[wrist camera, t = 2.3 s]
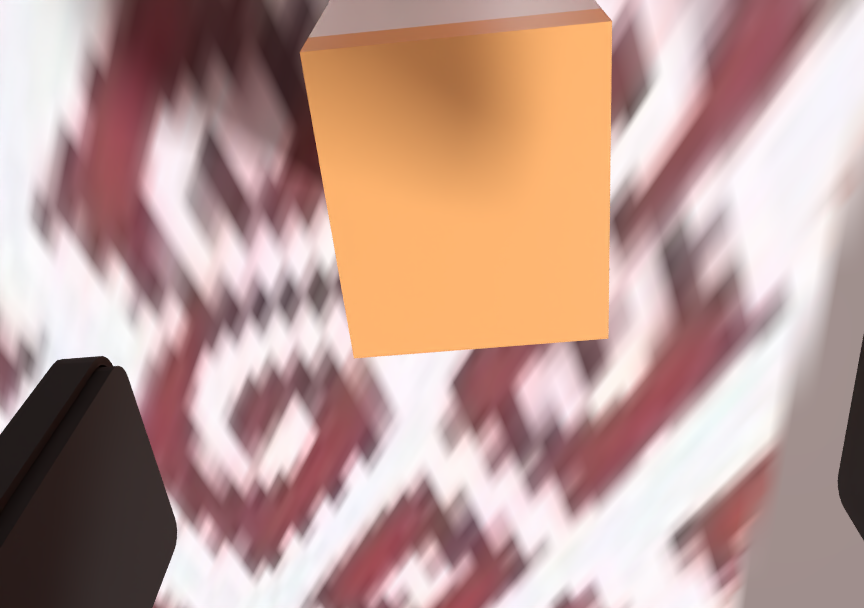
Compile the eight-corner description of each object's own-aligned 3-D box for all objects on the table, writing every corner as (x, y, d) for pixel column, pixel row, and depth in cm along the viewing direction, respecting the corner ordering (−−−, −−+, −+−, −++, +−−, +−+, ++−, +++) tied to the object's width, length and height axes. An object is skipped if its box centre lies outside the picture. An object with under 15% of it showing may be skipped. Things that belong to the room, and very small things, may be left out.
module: (376, 212, 22) (353, 357, 16) (343, -23, 19) (299, 52, 13) (562, 195, 22) (608, 338, 16) (557, -45, 19) (611, 21, 13)
